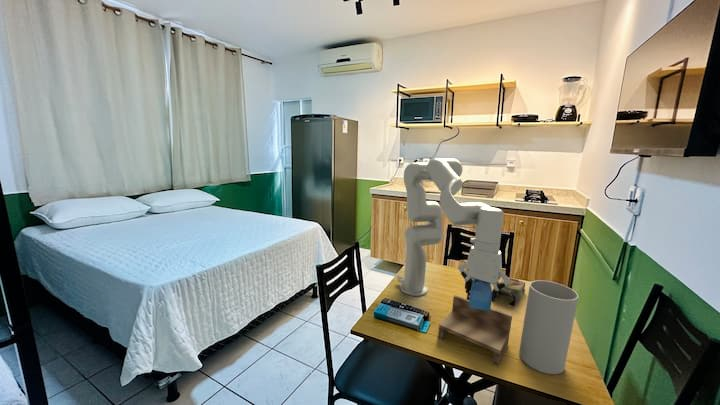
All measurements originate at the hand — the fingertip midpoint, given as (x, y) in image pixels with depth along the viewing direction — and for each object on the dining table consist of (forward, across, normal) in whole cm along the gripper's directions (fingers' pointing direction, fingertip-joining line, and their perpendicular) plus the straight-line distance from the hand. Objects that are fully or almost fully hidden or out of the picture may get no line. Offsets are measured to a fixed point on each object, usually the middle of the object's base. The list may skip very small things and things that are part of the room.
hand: (480, 295), depth 97 cm
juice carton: (+19, +1, +46) cm, 50 cm away
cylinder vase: (+19, +19, +6) cm, 28 cm away
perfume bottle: (+4, 0, 0) cm, 4 cm away
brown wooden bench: (+19, -1, +1) cm, 19 cm away
